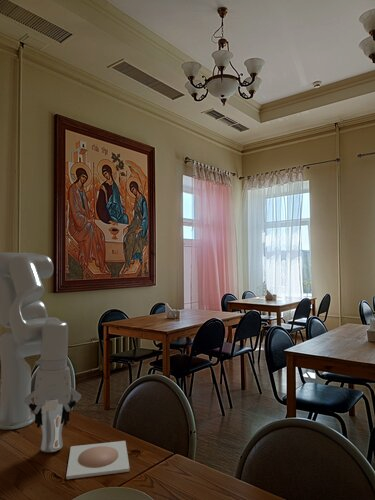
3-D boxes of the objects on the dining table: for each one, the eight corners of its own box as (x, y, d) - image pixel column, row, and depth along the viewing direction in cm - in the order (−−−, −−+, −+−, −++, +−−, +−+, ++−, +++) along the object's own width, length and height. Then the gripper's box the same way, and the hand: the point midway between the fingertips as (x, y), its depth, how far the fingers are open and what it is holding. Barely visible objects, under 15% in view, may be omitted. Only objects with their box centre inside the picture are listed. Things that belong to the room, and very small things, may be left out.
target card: (70, 449, 111) (70, 445, 111) (125, 443, 115) (125, 439, 115) (66, 479, 96) (66, 474, 96) (129, 471, 99) (129, 467, 99)
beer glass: (33, 449, 109) (35, 397, 109) (52, 439, 115) (53, 390, 116) (51, 455, 106) (52, 402, 106) (69, 444, 112) (70, 394, 112)
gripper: (19, 368, 105) (18, 433, 105) (83, 366, 109) (82, 427, 109) (25, 361, 113) (23, 421, 112) (84, 359, 117) (83, 416, 116)
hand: (52, 424), depth 111 cm, fingers closed on beer glass, 6 cm apart
